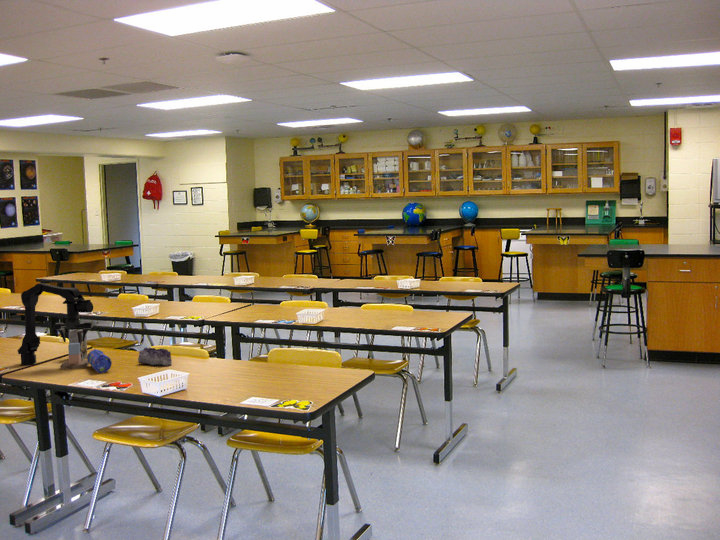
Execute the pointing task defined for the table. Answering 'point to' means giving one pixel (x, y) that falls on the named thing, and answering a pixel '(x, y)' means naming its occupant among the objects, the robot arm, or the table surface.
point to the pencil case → (99, 361)
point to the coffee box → (79, 341)
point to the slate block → (74, 348)
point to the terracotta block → (74, 358)
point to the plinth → (74, 365)
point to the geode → (155, 357)
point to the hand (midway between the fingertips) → (74, 341)
